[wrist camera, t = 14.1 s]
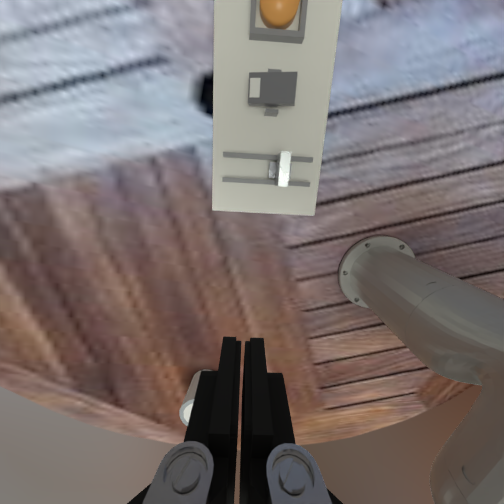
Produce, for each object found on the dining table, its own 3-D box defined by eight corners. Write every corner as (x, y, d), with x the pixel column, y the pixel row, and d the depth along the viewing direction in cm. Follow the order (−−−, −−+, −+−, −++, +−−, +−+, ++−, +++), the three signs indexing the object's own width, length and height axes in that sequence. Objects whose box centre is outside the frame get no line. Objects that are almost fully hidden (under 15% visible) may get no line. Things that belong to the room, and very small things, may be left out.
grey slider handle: (291, 156, 33) (298, 152, 28) (288, 186, 34) (295, 187, 29) (269, 154, 33) (273, 150, 28) (267, 184, 34) (270, 185, 29)
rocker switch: (297, 78, 29) (297, 71, 27) (294, 108, 30) (294, 103, 28) (252, 79, 30) (248, 71, 28) (250, 107, 31) (247, 103, 29)
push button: (298, -14, 28) (302, -29, 26) (294, 32, 29) (298, 22, 27) (260, -18, 28) (261, -32, 26) (258, 29, 29) (259, 19, 27)
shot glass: (212, 400, 48) (206, 436, 41) (182, 384, 46) (171, 419, 40) (231, 377, 46) (229, 411, 39) (201, 360, 45) (193, 392, 38)
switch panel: (342, -37, 29) (356, -68, 25) (310, 214, 37) (317, 217, 34) (217, -48, 28) (212, -82, 25) (214, 208, 37) (210, 211, 33)
